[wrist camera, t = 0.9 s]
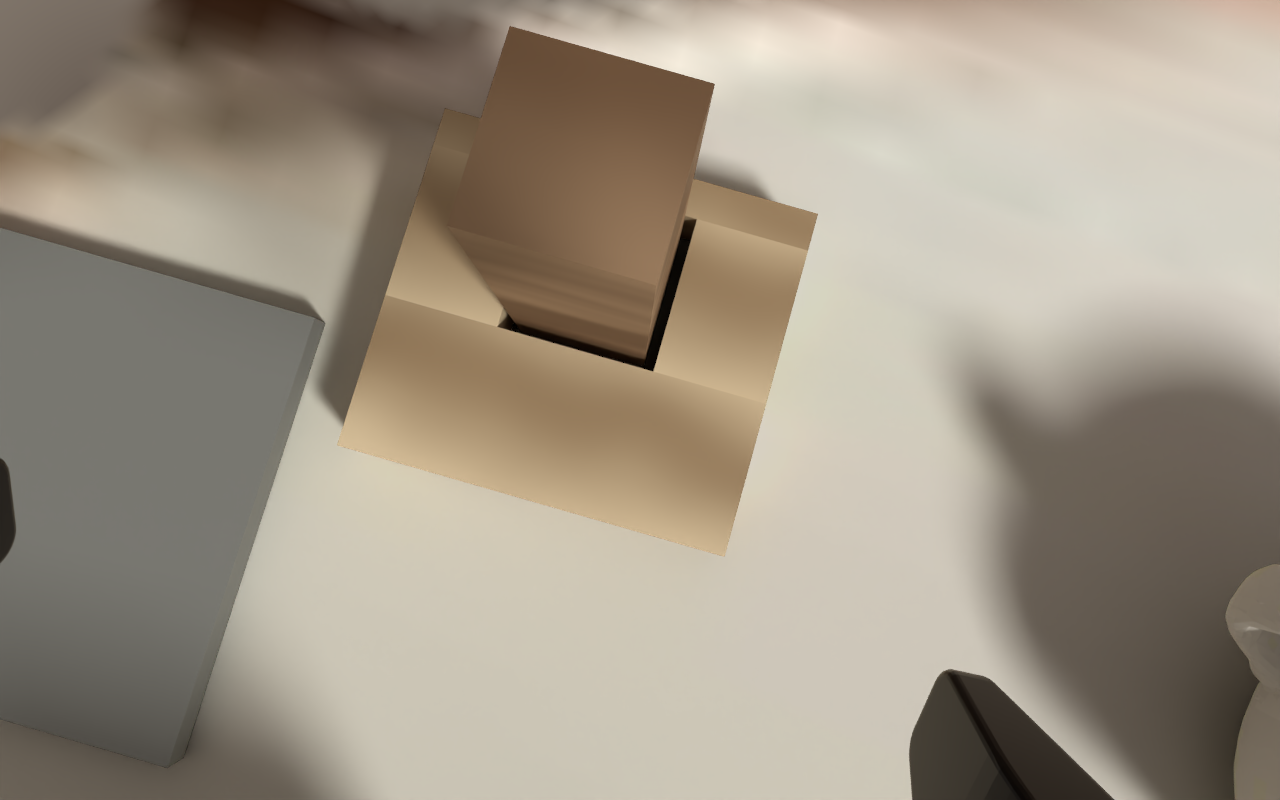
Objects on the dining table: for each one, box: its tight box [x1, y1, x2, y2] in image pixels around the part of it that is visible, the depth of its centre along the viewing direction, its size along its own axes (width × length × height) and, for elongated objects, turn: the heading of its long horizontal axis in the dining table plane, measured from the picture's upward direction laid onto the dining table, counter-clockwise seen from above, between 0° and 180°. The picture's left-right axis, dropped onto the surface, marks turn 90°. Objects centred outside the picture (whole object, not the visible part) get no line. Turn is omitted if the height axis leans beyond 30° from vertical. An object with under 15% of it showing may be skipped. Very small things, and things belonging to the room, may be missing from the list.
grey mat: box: [0, 228, 325, 768], centre depth 23 cm, size 12×12×1 cm
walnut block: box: [447, 26, 715, 367], centre depth 19 cm, size 4×4×10 cm
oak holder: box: [337, 108, 818, 556], centre depth 23 cm, size 9×10×2 cm
